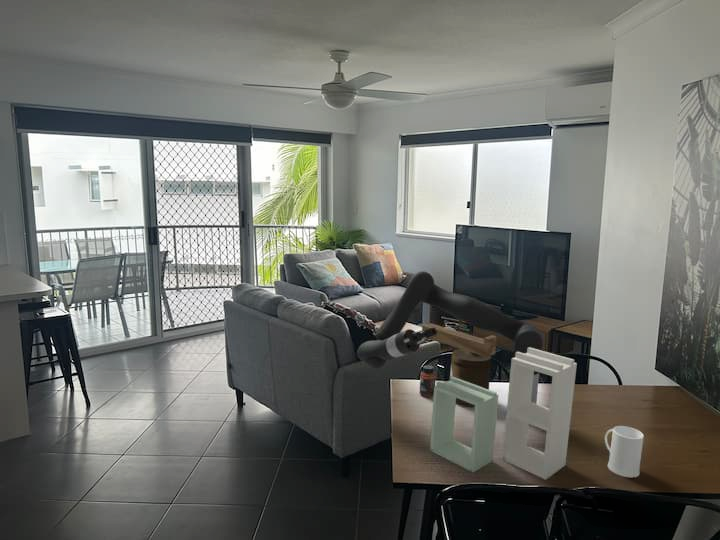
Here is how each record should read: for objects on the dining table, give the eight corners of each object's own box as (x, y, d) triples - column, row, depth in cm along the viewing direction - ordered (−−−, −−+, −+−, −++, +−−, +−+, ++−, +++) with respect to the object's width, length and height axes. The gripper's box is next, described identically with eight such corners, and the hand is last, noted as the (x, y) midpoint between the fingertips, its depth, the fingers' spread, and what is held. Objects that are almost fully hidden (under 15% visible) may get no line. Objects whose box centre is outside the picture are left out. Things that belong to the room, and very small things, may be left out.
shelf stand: (522, 446, 166) (532, 345, 160) (565, 465, 156) (577, 358, 150) (502, 459, 157) (512, 353, 152) (545, 479, 147) (557, 367, 142)
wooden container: (463, 388, 211) (467, 336, 207) (495, 400, 200) (500, 346, 197) (440, 398, 201) (444, 343, 197) (472, 411, 190) (477, 353, 187)
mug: (593, 458, 160) (597, 422, 158) (615, 455, 163) (620, 419, 161) (622, 479, 149) (627, 440, 147) (646, 475, 152) (651, 437, 150)
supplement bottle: (436, 393, 205) (438, 366, 203) (432, 398, 200) (433, 370, 198) (422, 390, 208) (423, 363, 206) (417, 395, 202) (418, 367, 201)
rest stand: (449, 440, 168) (454, 375, 164) (492, 460, 157) (498, 391, 153) (429, 450, 161) (434, 383, 157) (473, 472, 150) (479, 400, 146)
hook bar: (429, 333, 166) (430, 317, 165) (494, 354, 149) (496, 336, 148) (421, 336, 163) (422, 319, 163) (487, 357, 146) (488, 339, 145)
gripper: (384, 336, 168) (421, 321, 156) (413, 329, 178) (450, 314, 166) (391, 358, 167) (429, 345, 155) (420, 350, 177) (458, 337, 164)
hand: (439, 329), depth 160 cm, fingers closed on hook bar, 4 cm apart
